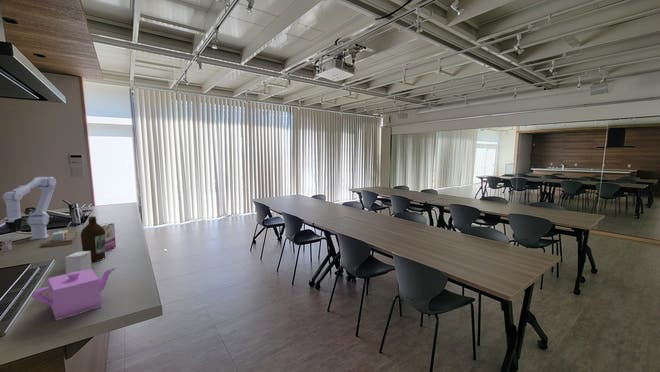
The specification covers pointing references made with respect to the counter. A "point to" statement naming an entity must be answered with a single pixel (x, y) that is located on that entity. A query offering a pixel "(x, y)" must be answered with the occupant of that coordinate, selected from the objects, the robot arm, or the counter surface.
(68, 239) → the puzzle board
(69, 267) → the skincare box
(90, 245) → the olive oil
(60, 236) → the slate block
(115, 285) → the counter surface
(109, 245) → the candy bar box
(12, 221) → the robot arm
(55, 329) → the counter surface
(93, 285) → the teapot
